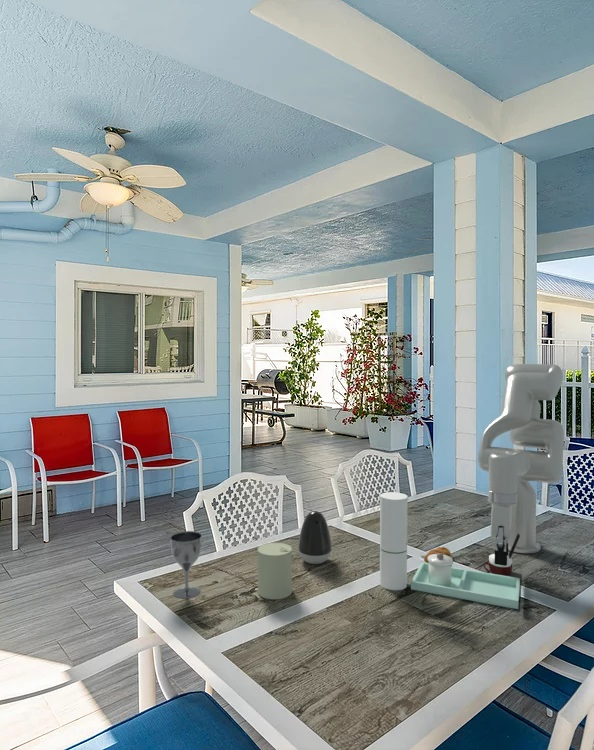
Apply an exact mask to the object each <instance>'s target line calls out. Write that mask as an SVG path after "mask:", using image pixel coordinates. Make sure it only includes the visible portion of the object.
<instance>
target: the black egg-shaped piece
mask: <svg viewBox="0 0 594 750" xmlns="http://www.w3.org/2000/svg"><path fill="white" fill-rule="evenodd" d="M327 522H328V521H327V520H326V518H325V516H324V514H323V513H322V512H320V511H319V510H318V511H317V510H315V511H314V510H313V511H310V512H309V513H308V514H307V515H306V517H305V518H304V521H303V522H302V526H301V529H300V534H299V539H298V543H297V544H298V547H297V549H298V551H299V555H300V557H301V559H302V560H303V561H305V562H306V563H308V564H311V565H319V564H323V563H324V562H326V561H327V560H328V559H329V557H330V555H331V552H332V551H333V545H332V537H331V532H330V527H329V526H328V523H327Z"/></svg>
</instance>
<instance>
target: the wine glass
mask: <svg viewBox="0 0 594 750" xmlns="http://www.w3.org/2000/svg"><path fill="white" fill-rule="evenodd" d="M202 542H203V541H202V533H200V532H199V531H193V530H185V531H180V532H179V531H178V532H175V533H173V534H172V535H171V536H170V549H171V555H172V558H173V559H174V561H175V562H176V564H178V565H179V567H180V568H181V569H182V570H183V573H184V582H185V583H184V585H185V586H180V587H178V588H176V589H175V590H173V592H172V594H173V596H174V597H175V598H177V599H183V600H184V599H190V598H195V597H197V596H199V595H200V593H201V589H200V588H199V587H197V586H194V585H189V577H190V576H189V575H190V570H191V568H192V567H193V565H194V564H195V563H196V562H197V560H198V559H199V558H200V554H201V551H202Z"/></svg>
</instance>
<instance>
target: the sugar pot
mask: <svg viewBox="0 0 594 750" xmlns="http://www.w3.org/2000/svg"><path fill="white" fill-rule="evenodd" d="M428 562H429V580H428V582H429V584H434V585H440V586H445V587H450V586H451V583H452V567H453V566H452V565H453V563H454V558H453V559H452V558H451V557H449V556H447V555H443V554H442V553H438V554H432V555H429V556H428Z"/></svg>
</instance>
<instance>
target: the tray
mask: <svg viewBox="0 0 594 750" xmlns="http://www.w3.org/2000/svg"><path fill="white" fill-rule="evenodd" d="M428 580H429V563H426V562H425V561H424V562H422V561H421V563H420V565H419V566H418V568H417V570H416V572H415V573H414V575H413V577H412V579H411V581H410V590H412V591H418V592H424V593H429V594H434V595H439V596H445V597H450V598H455V599H461V600H467V601H471V602H472V601H473V602H477V603H482V604H488V605H494V606H499V607H504V608H508V609H514V610H519V605H520V604H519V602H520V601H519V600H520V587H521V578H520V577H514V576H510V575H508V576H503V575H497V574H493V573H491V572H490V573H489V572H485V571H480V570H479V571H478V570H473V569H466V568H459V567H453V566H452V583H451V586H450V587H445V586H440V585H434V584H429V582H428Z"/></svg>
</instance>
